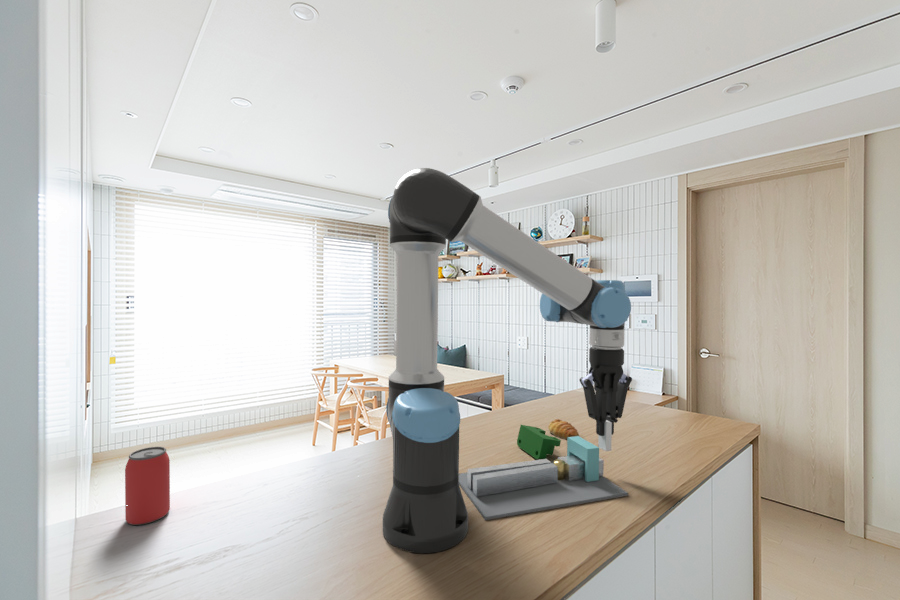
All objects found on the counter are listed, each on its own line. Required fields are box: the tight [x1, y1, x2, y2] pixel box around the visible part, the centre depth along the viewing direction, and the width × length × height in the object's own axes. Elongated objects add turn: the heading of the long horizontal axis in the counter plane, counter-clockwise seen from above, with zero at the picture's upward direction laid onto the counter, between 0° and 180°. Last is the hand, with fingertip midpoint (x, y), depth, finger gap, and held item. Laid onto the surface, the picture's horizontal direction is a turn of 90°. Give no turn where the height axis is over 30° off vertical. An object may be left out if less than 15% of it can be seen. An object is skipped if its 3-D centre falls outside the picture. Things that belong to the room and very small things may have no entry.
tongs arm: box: [473, 463, 558, 497], centre depth 87 cm, size 19×2×4 cm, turn 110°
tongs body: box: [467, 455, 605, 490], centre depth 90 cm, size 31×4×4 cm, turn 108°
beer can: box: [124, 446, 171, 526], centre depth 76 cm, size 7×7×12 cm
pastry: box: [547, 418, 580, 440], centre depth 121 cm, size 9×7×4 cm
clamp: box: [516, 424, 562, 460], centre depth 108 cm, size 12×6×9 cm, turn 14°
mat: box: [459, 460, 629, 521], centre depth 89 cm, size 32×18×1 cm, turn 108°
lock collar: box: [566, 435, 600, 482], centre depth 94 cm, size 3×8×7 cm, turn 18°
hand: (604, 448), depth 95 cm, fingers closed
